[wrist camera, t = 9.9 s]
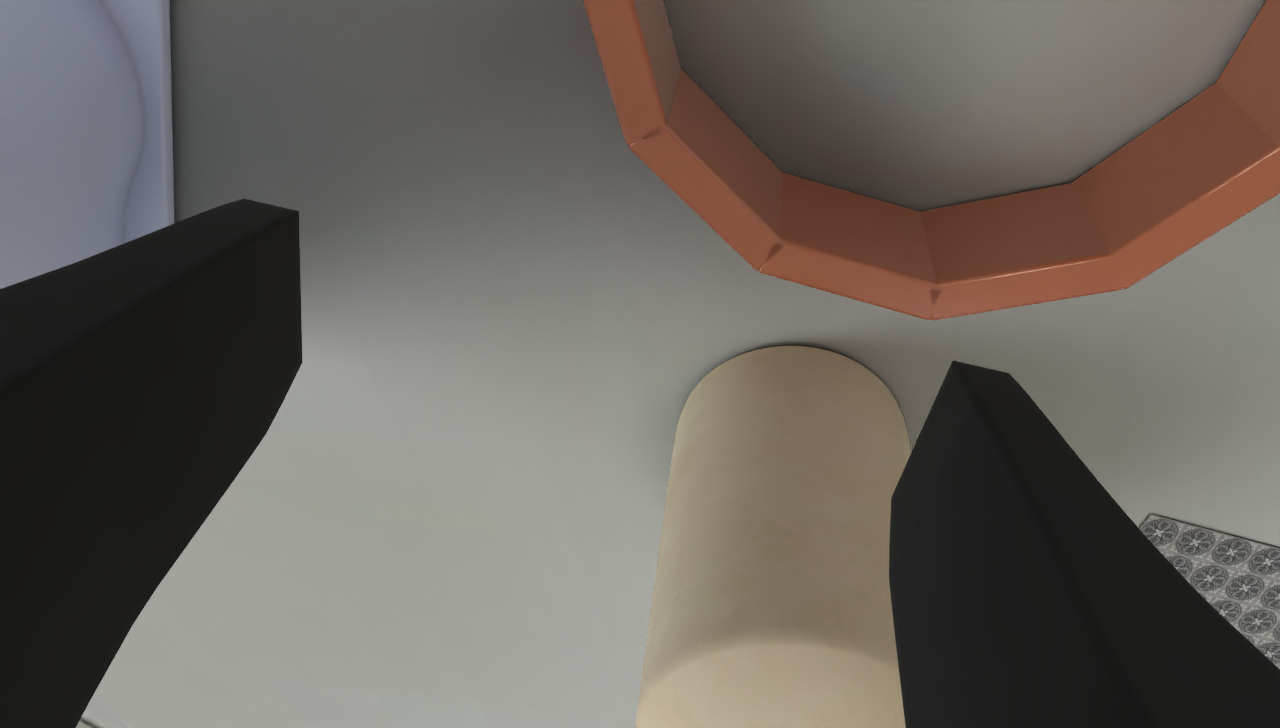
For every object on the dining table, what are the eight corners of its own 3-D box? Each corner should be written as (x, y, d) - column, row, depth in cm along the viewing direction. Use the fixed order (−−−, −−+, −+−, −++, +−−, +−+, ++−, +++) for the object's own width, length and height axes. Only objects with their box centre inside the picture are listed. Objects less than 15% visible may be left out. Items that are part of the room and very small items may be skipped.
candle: (926, 351, 23) (1003, 742, 15) (886, 528, 26) (932, 930, 18) (681, 332, 23) (627, 700, 15) (671, 508, 27) (622, 890, 18)
